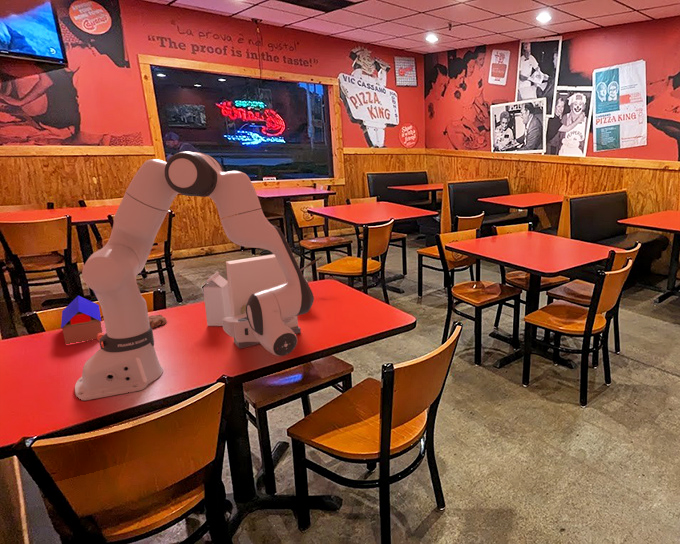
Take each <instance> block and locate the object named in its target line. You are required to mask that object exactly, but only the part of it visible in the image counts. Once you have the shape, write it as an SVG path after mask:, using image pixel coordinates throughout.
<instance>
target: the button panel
mask: <svg viewBox="0 0 680 544" xmlns="http://www.w3.org/2000/svg"><path fill="white" fill-rule="evenodd" d="M293 255H294V256H295V254H294V253H293ZM225 265H226V266H225V267H226V276H227V281H228V288H229V298H230V308H231V316H236V315H241V308H242V307H243V306H244V305H247V302H248V299H249V298H250V296H251V295H252V294H254V293H256V292H259V291H262V290H265V289H269V288H272V287H275V286H278V285H281V284H283V283H285V282H286V278H285V275H284V273H283V271H282V269H281V267H280V265H279V263H278V261H277V259H276V257H275V255H274V254H273V253H272V254H268V255H260V256H256V257H255V256H254V257H248V258H247V257H246V258H241V259H235V260H234V259H233V260H228V261H225ZM287 325H288V326H289V327H290V328H291V329H292V330H293V332H294V333H295V334H296V335H299V334H298V333H300V334H301V333H302V332H301V331H302V330H301V329H302V328H301V327H300V326H299V321H298V316H294V319H292V321H290V322H289V323H287ZM233 343H234V344H235V346H236V347H237V348H238V349H240V350H241V349H244V348H248V347H253V346H255V345H256V346H257V345H259V344H261V343H260V342H236V339H235V338H233Z"/></svg>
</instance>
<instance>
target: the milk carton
mask: <svg viewBox="0 0 680 544" xmlns="http://www.w3.org/2000/svg"><path fill="white" fill-rule="evenodd" d="M206 282H207V283H206V284H205V285H204V286H203V289H202V290H203V298H204V299H203V300H204V307H205V317H206V325H207V327H223V324H222V320H223V319H224V318H226V317H231V308H230V298H229V288H228V279H226V278H225V277H223V276H222V275H220V271H216V272H215V273H214V274H212V275H211V276H209V277H208V278H207V279H206Z"/></svg>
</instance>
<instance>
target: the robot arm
mask: <svg viewBox="0 0 680 544" xmlns="http://www.w3.org/2000/svg"><path fill="white" fill-rule="evenodd" d="M178 195H183V196H187V197H201V198H202V197H204V198H207V197H209V198H210V199H211V200H212V201H213V203H214V204H215V207H216V210H217V213H218V215H219V216H218V217H219V219H220V223H221V226H222V228H223V231H224V234H225V236H226V237H227V239H228V240H229V241H231V242H232V243H234V244H235V245H237V246H241V247H245V248H254V249H255V248H256V249H263V250H267V251H270V252H271V254H272V255H273V254H274V255H275V257H276V259H277V261H278V263H279V265H280V267H281V269H282V271H283V273H284V275H285V278H286V282H285V283H283V284H281V285H278V286H275V287H272V288H269V289H265V290H262V291H259V292H256V293H254V294H252V295H251V296H250V298H249V299H248V302H247V305H246V311H244V314H241V315H236V316H231V317H226V318H224V319H223V320H222V324H223V326H222V329H223V331H224V332H225V333H226V334H227V335H228V336H229V337H231V338H233V339H234V338H235V339H236V342H260V343H261V346H262V347H263V348H264V349H265V350H266V351H268V353H270V354H272V355H274V356H276V357H284V356H287V355H289V354H290V353H292V352H293V351H294V350H295V349H296V347H297V345H298V336H297V334H296V335H295V333H294V332H293V330H292V329H291V328H290V327H289V326H288V325H287V323H289V322H290V321H292V319H294V316H297V317H298V316H300V315H305V314H307V313H309V311H310V310H311V309H312V307H313V304H314V300H315V298H314V297H315V296H314V294H313V291H312V288H311V287H310V285H309V282H308V283H307V282H306V280H307V279H306V278H305V276H304V275H303V272H302V271H301V270H300V265H299V264H298V262H297V259H296V258H295V254H294V253H293V251H292V249H291V246H290V244H289V243H288V240H287V239H286V237H285V235H284V233H283V232H282V231H281V229H280V228H279V227H278V226H277V225H273V224H272V223H271V222H270V221H269V220H268V219H267V217H266V216H265V214H264V212H263V209H262V206H261V202H260V199H259V196H258V194H257V192H256V189H255V187H254V185H253V183H252V181H251V178H250V177H249V176H248V175H247V173H245V172H242V171H239V170H229V171H225V169H224V167H223V165H222V164H221V162H220V161H219V160H218V159H216V158H215V157H214V156H211V155H209V154H206V153H203V152H200V151H199V152H198V151H189V150H187V151H185V150H184V151H180V152H177V153H175V154H173V155H172V156H171V157H169V159H168V160H167V161H165V160H162V159H158V158H157V159H156V158H152V159H151V158H150V159H147V160H146V161H144V163H142V165H141V166H140V167H139V169H138V170H137V171H136V173H135V174H134V176H133V177H132V180H131V181H130V183H129V185H128V186H127V189H126V190H125V192H124V195H123V197H122V199H121V202H120V204H119V205H118V207H117V209H116V211H115V214H114V216H113V224H112V228H111V233H110V237H109V238H108V241H107V243H106V244H105V245H104V246H103V247H102V248H100V249H98V250H96V251H95V252H93V253H92V254H90V256H89V257H88V258H87V260H86V261H85V263H84V264H83V267H82V271H81V273H82V274H81V275H82V280H83V282H84V283H85V285H86V286H87V287H88V288H89V289H91V290H92V292H93V293H94V295H95V297H96V299H97V301H98V303H99V307H100V308H101V312H102V316H103V321H104V322H103V323H104V327H105V333H99V334H98V335H97V342H99V346H100V348H99V349H98V350H97V351H96V352H95V353H94V354H93V355H92V356H91V357H90V358H88V359H87V360H86V361H85V363H84V365H83V368H82V373H81V377H79V378H78V379H77V381H76V383H75V385H74V394H75V397H76V398H77V397H78V398H79V400H80V399H81V401H90V400H95V399H100V398H106V397H112V396H116V395H122V394H127V393H128V392H129V393H133V392H140V391H142V390H144V389H145V388H147V387H148V386H149V384H151V383H153V382H154V381H156V380H157V379H158V378H160V377H161V375H162V374H163V371H164V369H163V367H162V365H161V363H160V360H159V358H158V356H157V353H156V349H155V337H154V336H155V335H154V331H153V328H151V326H150V324H149V318H148V317H149V313H148V306H147V301H146V299H145V298H144V297H143V296H142V294H141V291H140V288H139V285H138V283H137V276H138V274H140V273H142V271H143V270H144V267H145V266H146V263H147V260H148V259H149V257H150V255H151V252H152V249H153V246H154V242H155V239H156V237H157V234H158V233H159V231H160V229H161V226H162V224H163V222H164V221H165V218H166V216H167V214H168V212H169V210H170V207H171V206H172V204H173V202H174V200H175V198H176V197H177V196H178ZM293 254H294V255H293ZM298 265H299V266H298ZM129 393H128V394H129ZM78 398H77V399H78Z"/></svg>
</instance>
